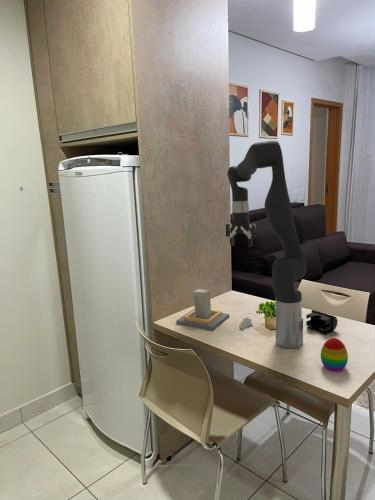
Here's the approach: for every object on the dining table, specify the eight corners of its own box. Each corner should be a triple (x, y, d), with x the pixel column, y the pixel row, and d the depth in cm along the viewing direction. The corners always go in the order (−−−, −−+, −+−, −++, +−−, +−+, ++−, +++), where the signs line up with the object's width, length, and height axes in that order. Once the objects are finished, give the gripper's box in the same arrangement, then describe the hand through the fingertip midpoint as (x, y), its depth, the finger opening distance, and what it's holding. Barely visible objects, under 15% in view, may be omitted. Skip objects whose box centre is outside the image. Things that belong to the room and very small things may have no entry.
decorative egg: (326, 358, 128) (326, 331, 126) (351, 365, 123) (352, 337, 121) (316, 368, 122) (316, 339, 120) (342, 376, 117) (343, 346, 115)
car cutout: (246, 323, 162) (246, 313, 162) (257, 328, 157) (257, 318, 156) (219, 332, 154) (218, 322, 154) (229, 338, 149) (229, 327, 148)
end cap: (337, 330, 150) (338, 314, 148) (326, 335, 146) (327, 319, 144) (315, 323, 158) (316, 308, 156) (305, 328, 154) (305, 312, 152)
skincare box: (211, 316, 167) (210, 290, 165) (207, 319, 164) (205, 292, 161) (199, 314, 170) (197, 288, 168) (194, 317, 167) (192, 291, 164)
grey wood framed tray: (229, 317, 169) (229, 310, 169) (213, 330, 156) (212, 323, 155) (194, 311, 178) (194, 305, 178) (176, 323, 165) (176, 317, 164)
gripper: (222, 211, 171) (223, 246, 174) (252, 212, 164) (252, 248, 167) (229, 210, 177) (230, 244, 180) (258, 210, 170) (258, 245, 173)
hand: (241, 246), depth 174 cm, fingers open, 8 cm apart
